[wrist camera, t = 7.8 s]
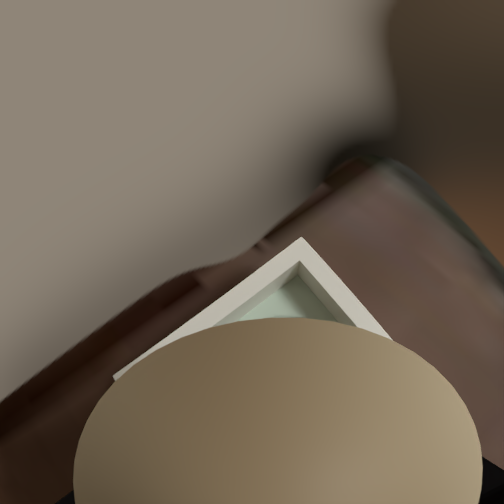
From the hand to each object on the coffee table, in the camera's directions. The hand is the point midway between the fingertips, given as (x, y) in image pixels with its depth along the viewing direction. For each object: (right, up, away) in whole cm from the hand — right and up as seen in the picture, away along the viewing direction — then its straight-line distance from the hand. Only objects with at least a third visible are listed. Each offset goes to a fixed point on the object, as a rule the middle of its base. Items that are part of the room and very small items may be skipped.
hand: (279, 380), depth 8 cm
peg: (+1, -4, +6) cm, 7 cm away
